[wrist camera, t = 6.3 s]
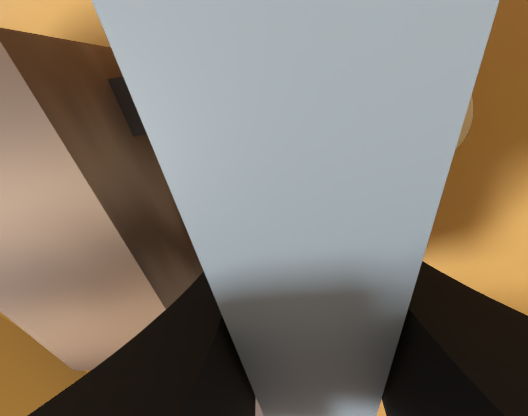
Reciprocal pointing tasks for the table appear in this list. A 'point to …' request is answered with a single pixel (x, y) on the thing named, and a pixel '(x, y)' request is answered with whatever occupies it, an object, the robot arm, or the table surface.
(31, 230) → the cabinet
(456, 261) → the table surface
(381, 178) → the door panel
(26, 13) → the table surface
